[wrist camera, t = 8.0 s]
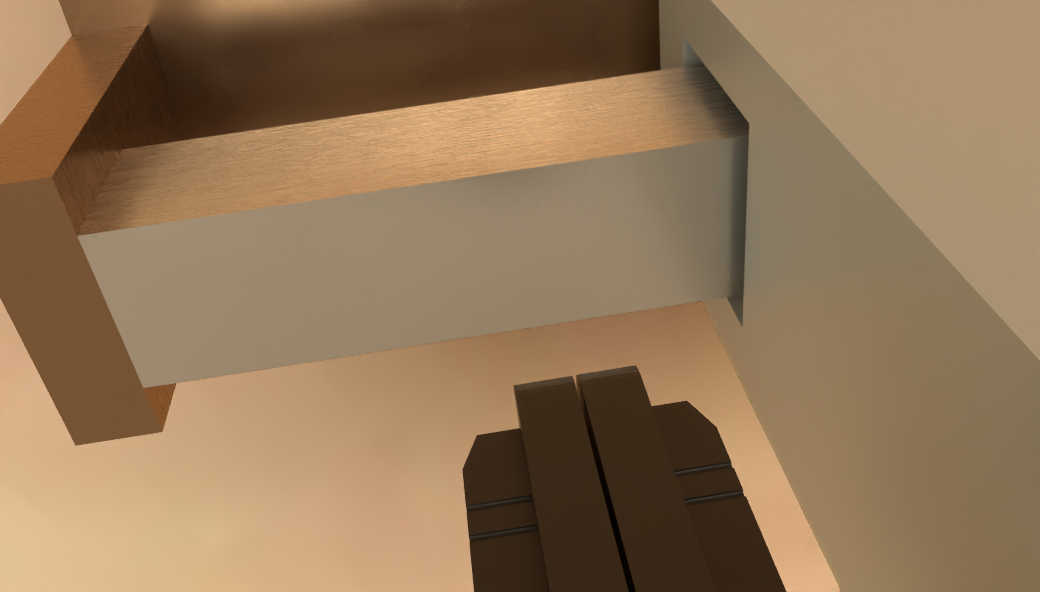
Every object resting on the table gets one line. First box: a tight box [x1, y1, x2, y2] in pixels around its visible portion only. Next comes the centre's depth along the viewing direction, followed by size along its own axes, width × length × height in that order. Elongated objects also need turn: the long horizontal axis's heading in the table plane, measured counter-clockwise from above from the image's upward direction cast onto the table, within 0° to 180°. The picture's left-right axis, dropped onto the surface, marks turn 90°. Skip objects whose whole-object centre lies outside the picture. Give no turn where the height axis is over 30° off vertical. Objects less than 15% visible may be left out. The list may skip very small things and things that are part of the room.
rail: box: [0, 0, 749, 445], centre depth 19 cm, size 22×9×8 cm, turn 96°
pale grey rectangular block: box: [659, 0, 1040, 592], centre depth 14 cm, size 5×6×14 cm
